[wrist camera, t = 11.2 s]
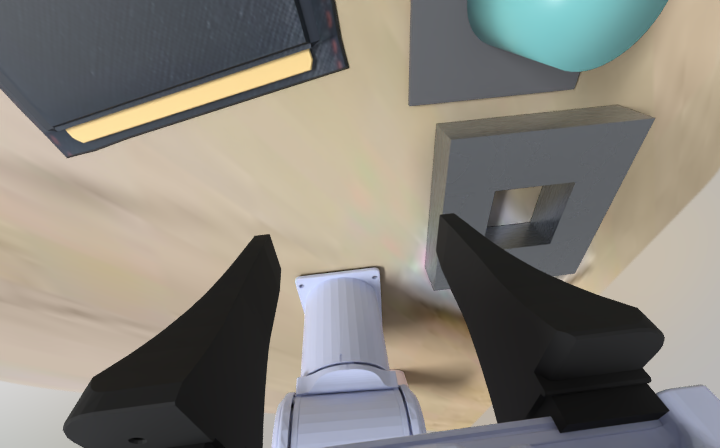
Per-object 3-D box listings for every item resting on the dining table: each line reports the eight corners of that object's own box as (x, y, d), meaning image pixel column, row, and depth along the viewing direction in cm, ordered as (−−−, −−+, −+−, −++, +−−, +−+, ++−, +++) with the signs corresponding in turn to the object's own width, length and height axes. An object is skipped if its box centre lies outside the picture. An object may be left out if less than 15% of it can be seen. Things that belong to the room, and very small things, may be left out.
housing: (554, 251, 30) (574, 273, 27) (424, 266, 29) (433, 290, 27) (618, 104, 21) (655, 118, 19) (436, 123, 21) (450, 140, 18)
